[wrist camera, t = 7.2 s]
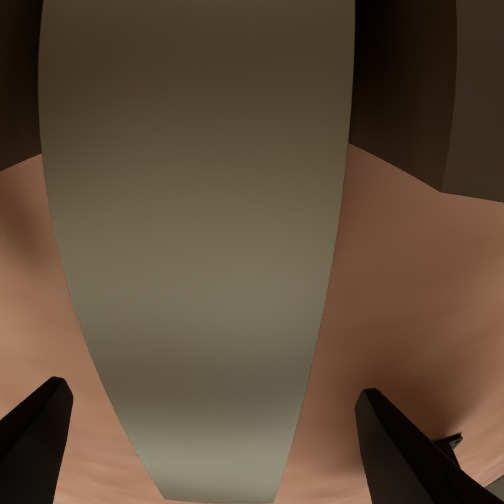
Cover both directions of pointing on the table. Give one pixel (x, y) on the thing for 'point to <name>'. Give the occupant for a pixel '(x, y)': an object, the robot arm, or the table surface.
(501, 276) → the table surface
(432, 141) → the headboard
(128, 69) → the rail
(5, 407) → the table surface
